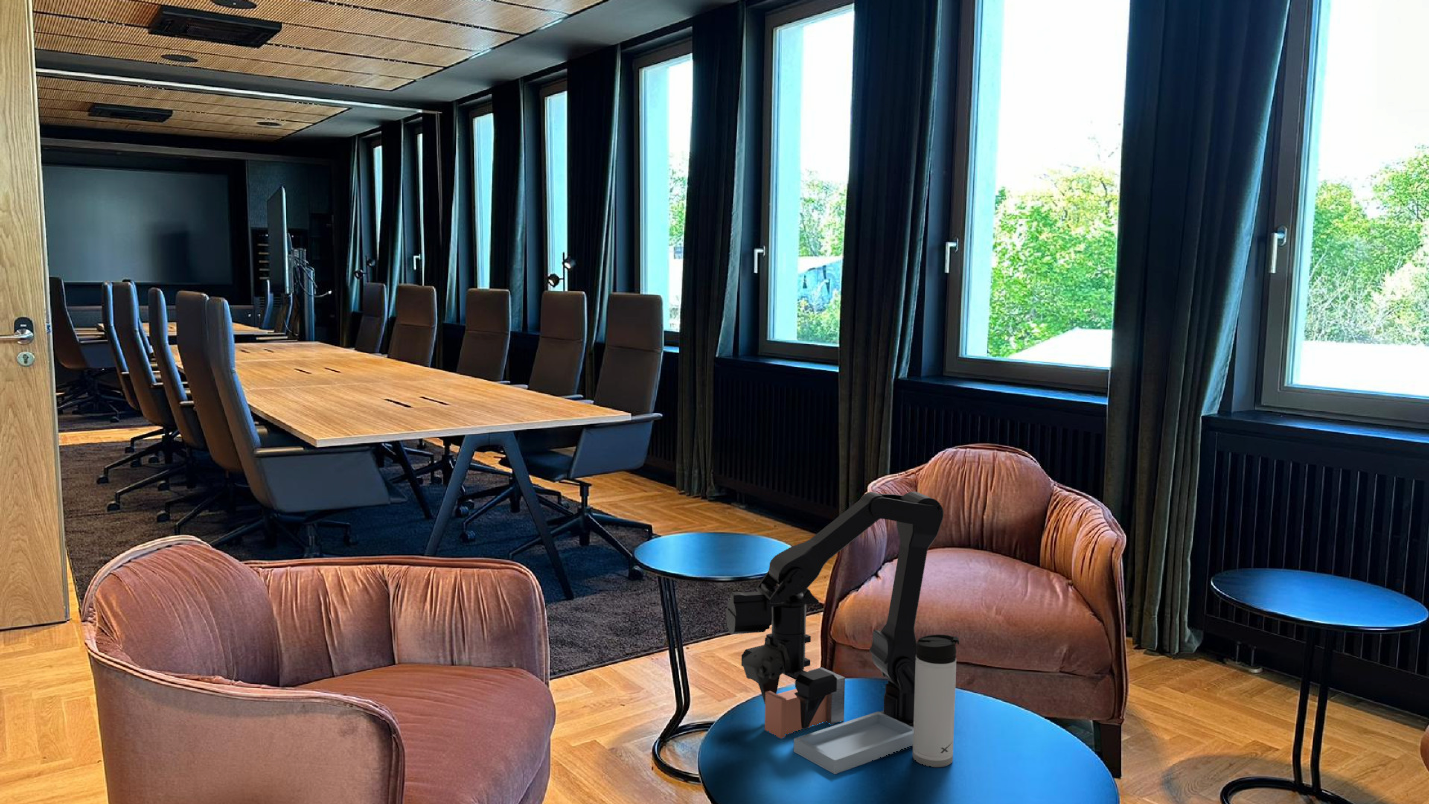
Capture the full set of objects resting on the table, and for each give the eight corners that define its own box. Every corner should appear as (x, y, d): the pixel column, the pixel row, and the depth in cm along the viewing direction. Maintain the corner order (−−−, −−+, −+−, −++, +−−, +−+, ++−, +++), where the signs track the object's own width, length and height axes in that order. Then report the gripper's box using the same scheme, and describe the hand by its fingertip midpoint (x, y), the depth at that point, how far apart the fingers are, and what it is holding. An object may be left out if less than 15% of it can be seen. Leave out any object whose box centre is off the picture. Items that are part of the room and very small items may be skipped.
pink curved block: (828, 710, 181) (829, 674, 181) (844, 718, 178) (845, 681, 177) (764, 729, 173) (765, 692, 172) (780, 738, 169) (781, 700, 169)
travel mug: (955, 770, 158) (960, 645, 156) (912, 765, 160) (916, 641, 158) (954, 752, 165) (958, 632, 163) (912, 748, 166) (916, 629, 164)
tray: (878, 723, 176) (878, 711, 175) (920, 743, 168) (920, 730, 168) (793, 751, 164) (794, 738, 164) (834, 774, 157) (835, 760, 156)
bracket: (820, 709, 181) (821, 667, 181) (843, 721, 176) (845, 677, 176) (807, 713, 180) (808, 670, 179) (831, 725, 175) (832, 681, 174)
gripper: (716, 623, 174) (715, 712, 175) (788, 654, 159) (786, 751, 160) (767, 612, 180) (766, 697, 182) (840, 641, 165) (838, 734, 167)
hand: (786, 719), depth 173 cm, fingers open, 9 cm apart
